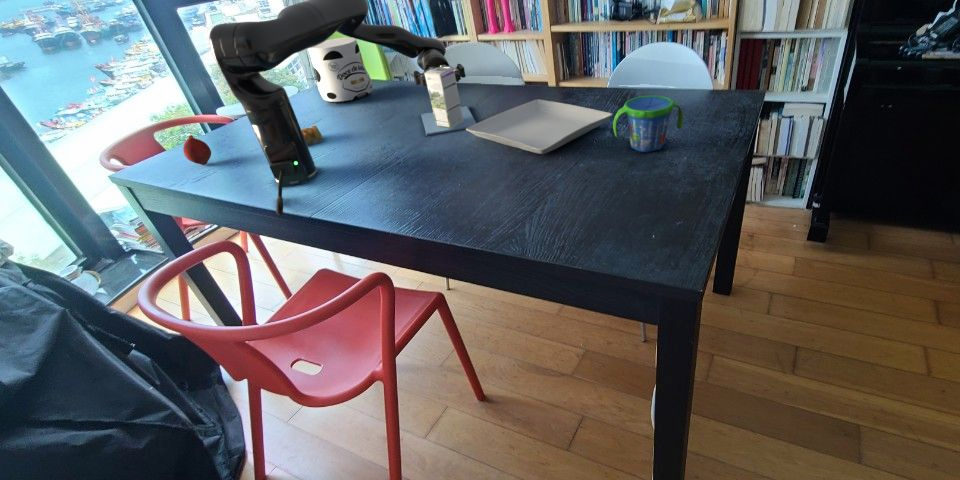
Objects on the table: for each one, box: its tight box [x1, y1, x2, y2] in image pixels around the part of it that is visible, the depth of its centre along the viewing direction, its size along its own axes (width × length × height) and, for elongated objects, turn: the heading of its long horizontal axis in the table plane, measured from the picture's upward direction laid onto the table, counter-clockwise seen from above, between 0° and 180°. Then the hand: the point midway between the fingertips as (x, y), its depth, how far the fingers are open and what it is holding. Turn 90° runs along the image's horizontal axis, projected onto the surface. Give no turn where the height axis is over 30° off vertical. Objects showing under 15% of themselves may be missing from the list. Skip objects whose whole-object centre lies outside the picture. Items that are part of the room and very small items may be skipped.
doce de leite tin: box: [307, 37, 374, 105], centre depth 159 cm, size 17×17×18 cm
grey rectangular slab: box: [420, 105, 478, 137], centre depth 137 cm, size 18×14×1 cm
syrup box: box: [425, 67, 464, 128], centre depth 129 cm, size 6×6×14 cm
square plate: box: [465, 98, 614, 155], centre depth 122 cm, size 27×27×4 cm
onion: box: [182, 134, 212, 166], centre depth 124 cm, size 6×6×8 cm
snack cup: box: [612, 94, 684, 153], centre depth 108 cm, size 16×10×10 cm
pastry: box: [301, 125, 324, 146], centre depth 132 cm, size 9×7×4 cm
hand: (442, 80), depth 131 cm, fingers open, 8 cm apart
